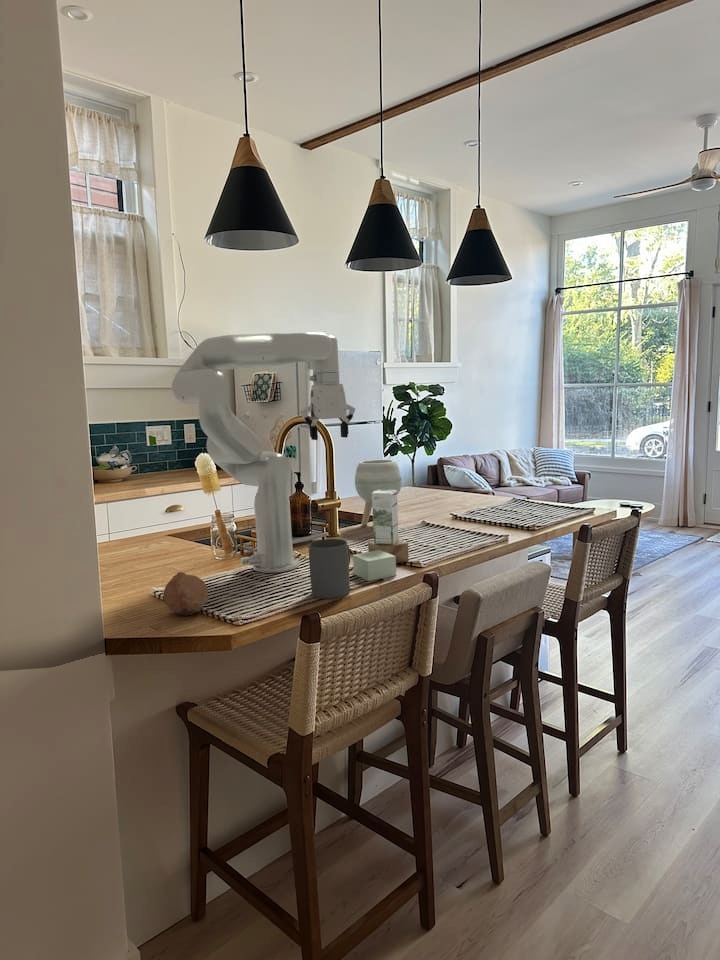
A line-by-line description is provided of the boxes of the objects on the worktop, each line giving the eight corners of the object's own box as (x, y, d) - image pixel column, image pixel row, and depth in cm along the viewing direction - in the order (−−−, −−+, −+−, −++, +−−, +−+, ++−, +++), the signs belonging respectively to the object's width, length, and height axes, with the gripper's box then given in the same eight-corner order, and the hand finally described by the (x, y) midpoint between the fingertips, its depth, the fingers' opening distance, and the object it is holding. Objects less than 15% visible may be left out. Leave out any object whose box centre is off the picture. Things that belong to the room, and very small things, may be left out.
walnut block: (383, 565, 175) (382, 547, 175) (368, 559, 182) (368, 542, 182) (408, 560, 179) (407, 543, 178) (393, 555, 186) (392, 537, 185)
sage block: (368, 580, 162) (367, 561, 161) (353, 573, 169) (352, 554, 168) (396, 575, 165) (395, 556, 165) (380, 568, 173) (379, 550, 172)
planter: (398, 519, 237) (395, 457, 234) (407, 528, 222) (404, 462, 219) (354, 522, 235) (351, 460, 232) (360, 531, 219) (357, 465, 216)
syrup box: (399, 540, 182) (397, 488, 180) (393, 545, 176) (391, 492, 174) (380, 540, 183) (377, 488, 182) (373, 544, 178) (371, 492, 176)
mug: (337, 601, 147) (334, 549, 146) (303, 596, 152) (300, 546, 150) (366, 584, 159) (364, 536, 157) (334, 580, 164) (332, 533, 162)
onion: (178, 623, 147) (167, 580, 149) (217, 609, 147) (206, 567, 149) (163, 622, 138) (151, 577, 140) (205, 607, 138) (193, 562, 140)
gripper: (304, 380, 182) (307, 441, 184) (358, 377, 190) (361, 436, 192) (293, 381, 189) (297, 440, 191) (347, 379, 197) (350, 435, 199)
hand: (329, 438), depth 192 cm, fingers open, 9 cm apart
